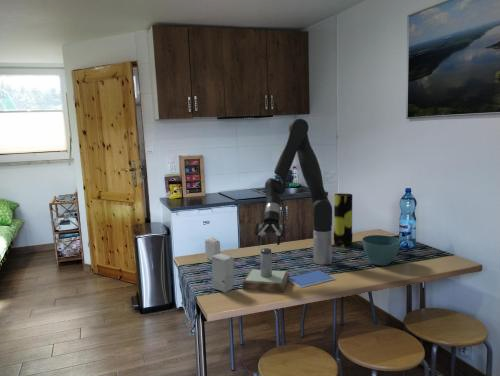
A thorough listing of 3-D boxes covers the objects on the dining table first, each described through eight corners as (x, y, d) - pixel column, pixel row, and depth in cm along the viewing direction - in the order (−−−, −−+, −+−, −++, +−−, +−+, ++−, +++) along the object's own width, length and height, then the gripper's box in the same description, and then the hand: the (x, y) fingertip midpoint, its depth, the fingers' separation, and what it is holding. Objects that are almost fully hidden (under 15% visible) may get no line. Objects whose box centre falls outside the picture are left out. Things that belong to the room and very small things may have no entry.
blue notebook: (300, 289, 179) (300, 286, 179) (285, 280, 190) (285, 277, 190) (335, 280, 188) (335, 278, 188) (319, 272, 199) (319, 269, 199)
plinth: (288, 278, 190) (288, 270, 190) (283, 292, 175) (283, 283, 174) (251, 276, 195) (250, 268, 194) (242, 289, 179) (242, 280, 179)
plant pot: (405, 262, 209) (406, 238, 207) (389, 271, 196) (390, 247, 194) (372, 255, 221) (372, 233, 219) (355, 264, 208) (355, 240, 206)
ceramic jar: (272, 273, 186) (272, 248, 184) (270, 277, 181) (270, 251, 179) (262, 273, 187) (261, 247, 185) (259, 277, 182) (259, 251, 181)
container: (355, 244, 242) (356, 194, 237) (346, 248, 234) (347, 196, 229) (339, 241, 249) (339, 192, 245) (330, 245, 241) (330, 195, 237)
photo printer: (204, 258, 223) (203, 236, 221) (211, 256, 226) (210, 235, 224) (215, 262, 215) (214, 240, 214) (221, 261, 218) (221, 238, 216)
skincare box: (211, 288, 182) (210, 256, 179) (221, 284, 186) (219, 252, 184) (225, 292, 176) (224, 259, 174) (234, 288, 181) (233, 256, 179)
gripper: (256, 210, 195) (252, 239, 186) (285, 210, 192) (283, 240, 183) (259, 218, 201) (255, 247, 192) (287, 218, 198) (285, 248, 189)
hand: (268, 244), depth 187 cm, fingers open, 8 cm apart
